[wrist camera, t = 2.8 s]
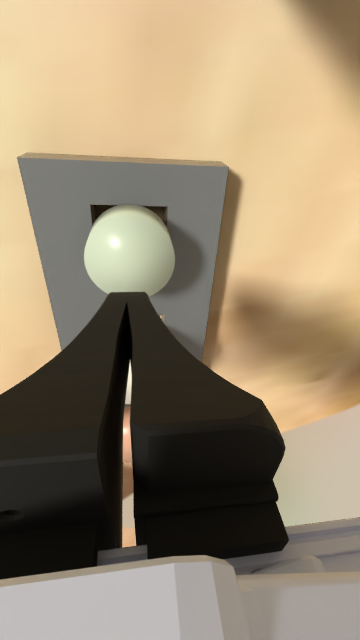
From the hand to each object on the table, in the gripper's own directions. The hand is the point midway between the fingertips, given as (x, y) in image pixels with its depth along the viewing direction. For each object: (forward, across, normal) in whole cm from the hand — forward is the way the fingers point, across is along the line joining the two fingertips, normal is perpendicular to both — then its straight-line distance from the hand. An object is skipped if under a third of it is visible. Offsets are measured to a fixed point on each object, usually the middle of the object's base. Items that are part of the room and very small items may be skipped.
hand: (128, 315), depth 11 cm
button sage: (+8, 0, 0) cm, 8 cm away
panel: (+9, 0, +7) cm, 11 cm away
